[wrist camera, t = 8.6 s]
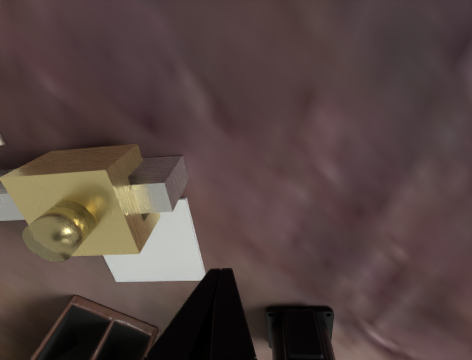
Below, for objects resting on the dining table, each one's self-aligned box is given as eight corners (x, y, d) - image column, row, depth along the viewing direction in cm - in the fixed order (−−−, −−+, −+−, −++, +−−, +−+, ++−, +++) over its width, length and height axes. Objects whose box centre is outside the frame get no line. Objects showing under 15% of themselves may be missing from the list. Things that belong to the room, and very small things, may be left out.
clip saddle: (160, 216, 18) (123, 282, 13) (85, 220, 19) (22, 283, 14) (137, 143, 15) (80, 191, 10) (50, 151, 16) (-42, 199, 11)
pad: (206, 277, 23) (205, 280, 23) (117, 279, 25) (116, 281, 24) (186, 197, 19) (185, 199, 19) (80, 203, 20) (78, 205, 20)
